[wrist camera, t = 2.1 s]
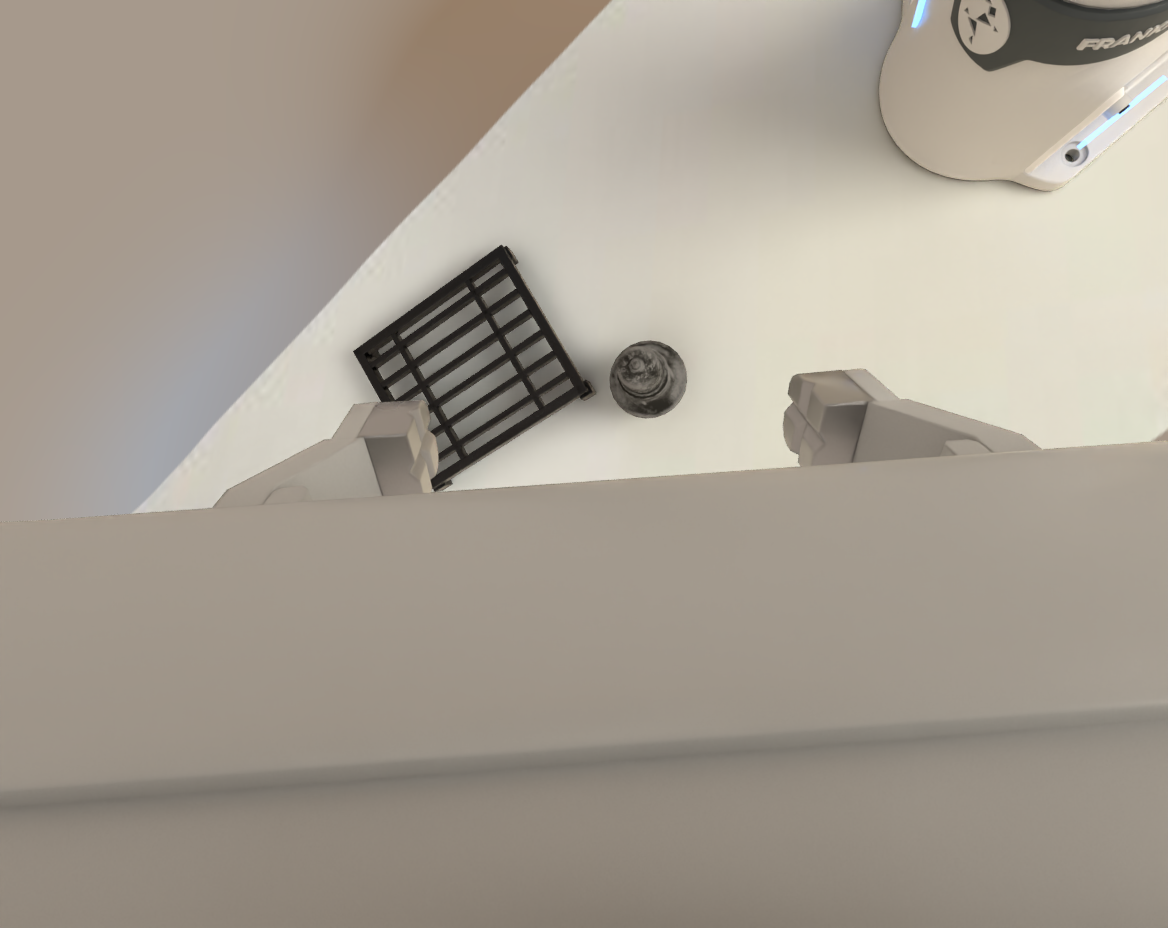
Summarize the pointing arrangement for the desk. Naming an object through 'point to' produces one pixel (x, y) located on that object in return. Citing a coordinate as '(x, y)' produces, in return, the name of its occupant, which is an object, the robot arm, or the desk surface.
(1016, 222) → the desk surface
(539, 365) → the grate
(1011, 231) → the desk surface
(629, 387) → the grey stone turned piece
